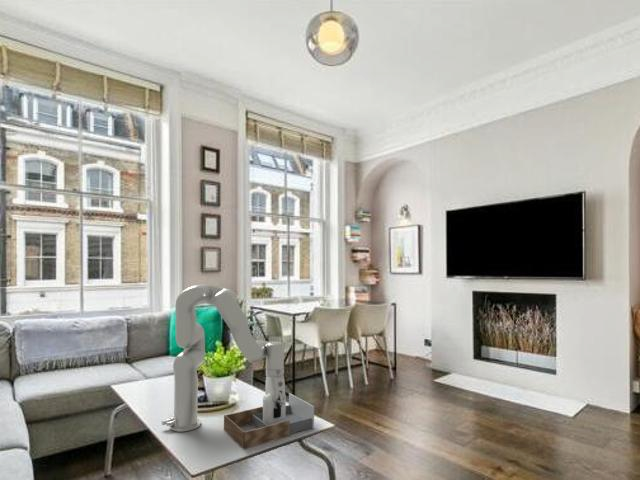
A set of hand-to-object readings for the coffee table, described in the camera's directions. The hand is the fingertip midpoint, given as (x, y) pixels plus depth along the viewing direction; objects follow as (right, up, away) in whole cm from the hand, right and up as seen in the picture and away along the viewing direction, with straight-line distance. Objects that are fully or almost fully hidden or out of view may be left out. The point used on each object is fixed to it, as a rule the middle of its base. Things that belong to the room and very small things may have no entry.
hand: (274, 414), depth 171 cm
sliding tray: (+2, -6, +1) cm, 6 cm away
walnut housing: (-7, -5, -5) cm, 10 cm away
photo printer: (0, -3, 0) cm, 3 cm away
